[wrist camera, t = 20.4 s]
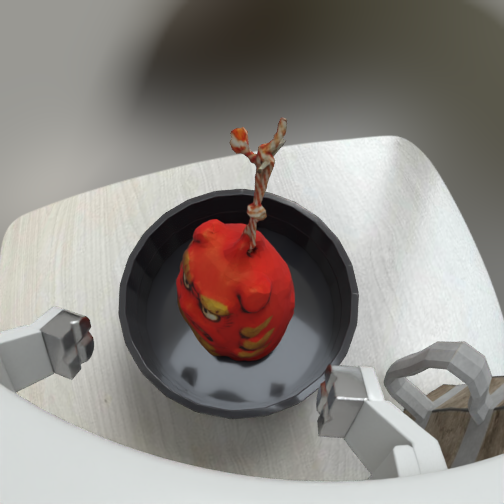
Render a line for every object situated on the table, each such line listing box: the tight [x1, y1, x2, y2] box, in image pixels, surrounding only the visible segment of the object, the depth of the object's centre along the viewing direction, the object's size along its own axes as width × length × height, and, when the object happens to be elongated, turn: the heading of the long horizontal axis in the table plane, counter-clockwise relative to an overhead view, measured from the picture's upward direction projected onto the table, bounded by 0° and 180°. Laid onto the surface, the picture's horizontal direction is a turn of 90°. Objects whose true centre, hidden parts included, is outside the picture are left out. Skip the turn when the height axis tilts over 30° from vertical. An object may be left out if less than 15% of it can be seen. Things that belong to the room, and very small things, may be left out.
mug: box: [384, 342, 504, 469], centre depth 12 cm, size 16×11×12 cm
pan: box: [119, 189, 359, 419], centre depth 20 cm, size 15×15×5 cm
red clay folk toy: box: [176, 118, 295, 361], centre depth 15 cm, size 8×7×15 cm
